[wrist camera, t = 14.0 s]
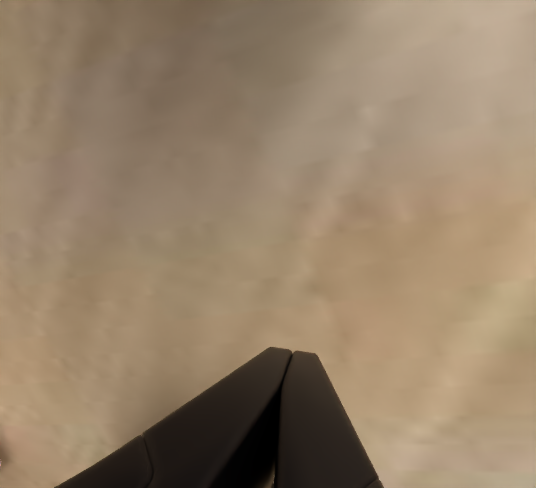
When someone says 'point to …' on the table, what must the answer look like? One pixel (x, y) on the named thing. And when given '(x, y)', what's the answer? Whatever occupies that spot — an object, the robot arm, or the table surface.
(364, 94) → the table surface
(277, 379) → the robot arm
